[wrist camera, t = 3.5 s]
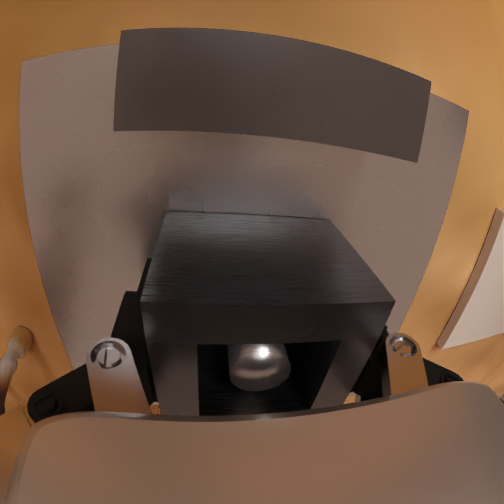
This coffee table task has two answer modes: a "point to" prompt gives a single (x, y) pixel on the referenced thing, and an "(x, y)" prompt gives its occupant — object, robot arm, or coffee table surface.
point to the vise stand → (225, 163)
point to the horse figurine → (12, 359)
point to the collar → (257, 311)
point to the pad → (481, 294)
